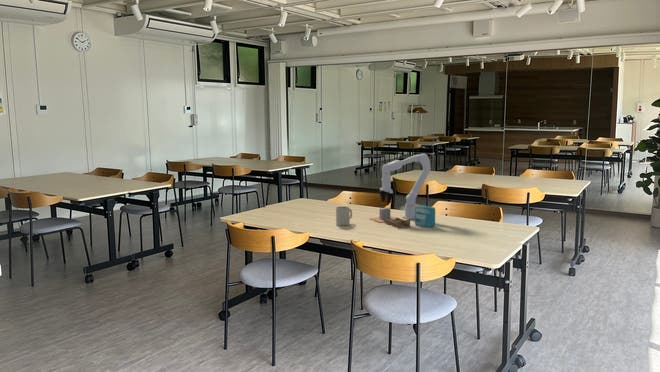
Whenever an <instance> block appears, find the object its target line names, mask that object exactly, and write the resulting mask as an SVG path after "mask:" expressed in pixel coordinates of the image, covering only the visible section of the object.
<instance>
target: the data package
mask: <svg viewBox="0 0 660 372" xmlns="http://www.w3.org/2000/svg"><path fill="white" fill-rule="evenodd" d="M414 224H415V226H418V225H421V226H420V227H424V226H427V227H426V228H432V227H435V225H436V208H435V207H433V206H425V205H419V206H417V207H415V219H414Z"/></svg>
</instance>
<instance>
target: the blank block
mask: <svg viewBox="0 0 660 372" xmlns="http://www.w3.org/2000/svg"><path fill="white" fill-rule="evenodd" d="M390 216H391V208H390V207H380V208H379V217H380V219H381V220H384V219H390Z"/></svg>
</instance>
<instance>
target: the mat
mask: <svg viewBox="0 0 660 372" xmlns="http://www.w3.org/2000/svg"><path fill="white" fill-rule="evenodd" d="M396 218H397V217H394V216H392V215H390V219H388V220H390V221H393V222H396ZM369 219H370V221H371V220H372V221H374V222H376V223H379V224H382V223H384V220H381V219H380V216H378V217H370V218H369Z"/></svg>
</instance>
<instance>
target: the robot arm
mask: <svg viewBox="0 0 660 372" xmlns="http://www.w3.org/2000/svg"><path fill="white" fill-rule="evenodd" d="M411 163H420V164H421V167H422V170H421V172H420V174H419V176H418V177H417V180H416V182H415V183H414V185H413V187H412V188H411V190H410V191H409V193H408V194H407V195H406V196H405V202H406V203H404V216H402V218H403V217H404V219H406V218H407V219H406V220H415V207H417V206H420V205H419V204H417V203H416V199H417V197H418V194H419V192H420V191H421V189H422V187H423V185H424V183H425V181H426V180H427V177H428V176H429V174H430V172H431V170H432V169H431V160H430V157H429V156H428V154H426V153H424V152H423V153H420V154H419V153H418V154H415V155H412V156H409V157H407V158H405V159H403V160H399V159H394V161H391V162H387V163H385V164H383V165H382V167H381V173H382V174H381V187H380V188H379V191H378V193H379V196H380V200H381V202H382V203H383V202H386V203H387V204H391V203H392V198H393V197H394V194H395V193H394V190H393V189H392V188H391V187H392V186H391V183H392V182H391V180H392V179H391V172H394V171H396V170H400V169H402V167H403V166H404V165H408V164H411Z"/></svg>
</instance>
